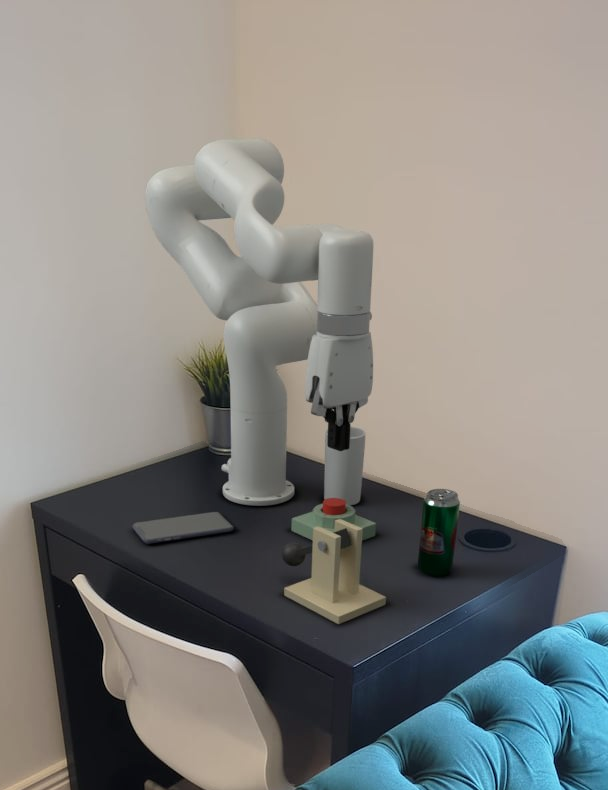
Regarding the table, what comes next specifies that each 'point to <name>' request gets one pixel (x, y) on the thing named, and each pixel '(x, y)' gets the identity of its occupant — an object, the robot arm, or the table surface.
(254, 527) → the table surface
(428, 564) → the soda can
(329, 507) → the button
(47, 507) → the table surface
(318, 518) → the control block
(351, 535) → the lever bracket
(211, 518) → the smartphone
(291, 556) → the ball knob handle
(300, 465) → the table surface
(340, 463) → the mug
